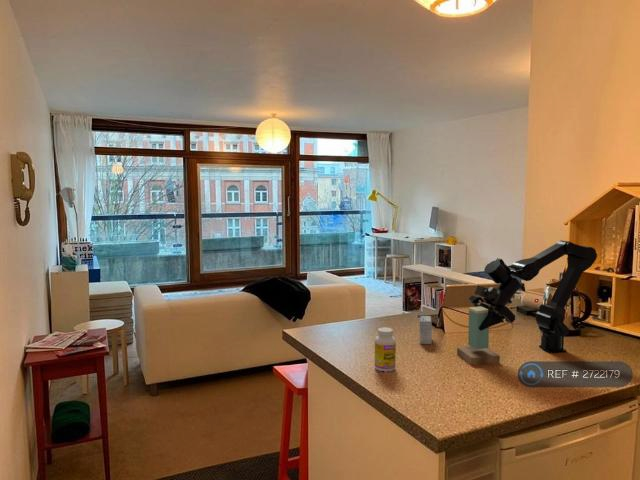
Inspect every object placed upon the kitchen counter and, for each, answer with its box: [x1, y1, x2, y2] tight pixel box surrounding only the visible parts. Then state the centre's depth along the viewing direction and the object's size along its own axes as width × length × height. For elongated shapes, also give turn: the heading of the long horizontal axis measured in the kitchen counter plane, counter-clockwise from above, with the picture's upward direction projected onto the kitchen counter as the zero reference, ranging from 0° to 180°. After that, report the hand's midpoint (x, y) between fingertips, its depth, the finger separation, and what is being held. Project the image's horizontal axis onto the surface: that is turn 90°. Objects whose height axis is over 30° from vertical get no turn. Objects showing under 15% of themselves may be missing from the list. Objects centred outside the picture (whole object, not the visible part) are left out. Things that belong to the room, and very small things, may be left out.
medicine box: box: [418, 315, 433, 345], centre depth 176 cm, size 8×4×9 cm, turn 168°
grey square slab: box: [456, 346, 501, 366], centre depth 157 cm, size 10×10×3 cm
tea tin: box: [467, 306, 490, 349], centre depth 156 cm, size 5×5×13 cm
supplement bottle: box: [374, 326, 397, 373], centre depth 149 cm, size 7×7×13 cm
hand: (475, 327), depth 156 cm, fingers closed on tea tin, 5 cm apart
